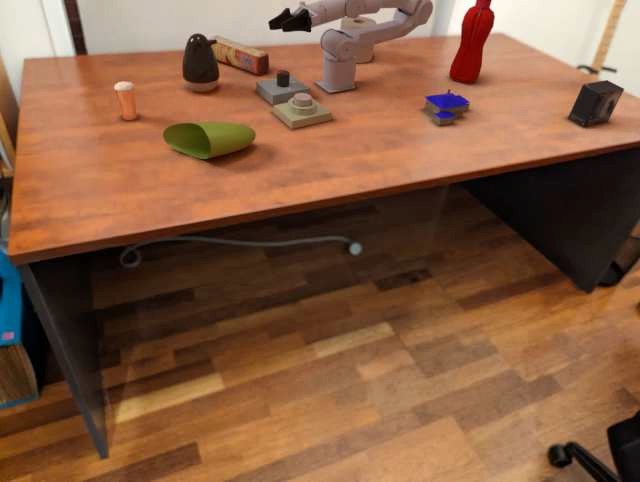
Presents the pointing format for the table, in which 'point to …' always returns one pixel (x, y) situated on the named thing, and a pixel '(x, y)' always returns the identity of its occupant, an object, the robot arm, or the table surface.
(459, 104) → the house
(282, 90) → the dial panel
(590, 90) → the small box
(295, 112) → the button base
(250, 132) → the green scoop
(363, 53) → the toilet paper roll
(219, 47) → the snack package
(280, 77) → the lock dial
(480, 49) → the water bottle
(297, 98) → the button
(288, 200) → the table surface
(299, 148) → the table surface
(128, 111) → the milkshake
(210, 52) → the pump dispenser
